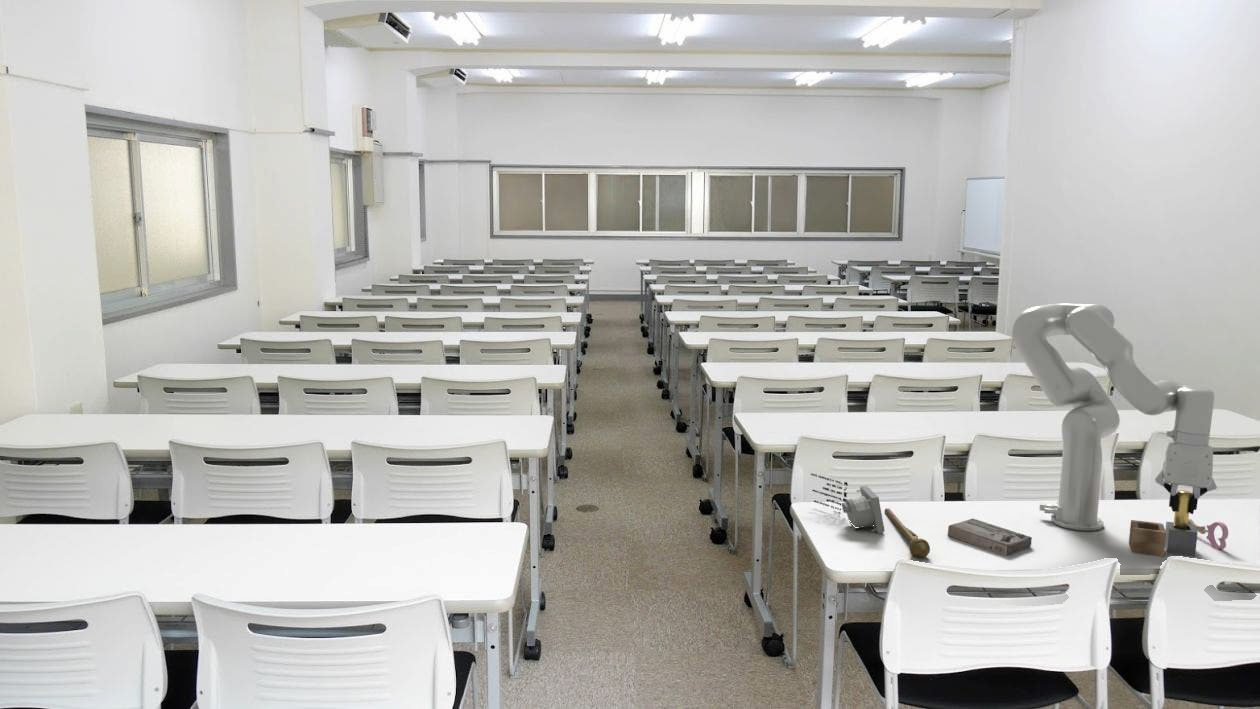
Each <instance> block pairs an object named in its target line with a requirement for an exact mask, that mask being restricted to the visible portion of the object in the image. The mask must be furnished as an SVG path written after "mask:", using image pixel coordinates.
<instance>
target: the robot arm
mask: <svg viewBox="0 0 1260 709" xmlns="http://www.w3.org/2000/svg"><path fill="white" fill-rule="evenodd" d="M1114 325H1115V317H1114V314H1113V312H1112V311H1111V310H1110V309H1109V308H1108V307H1107V306H1104V305H1102V304H1097V303H1096V304H1095V303H1094V304H1092V303H1090V304H1088V303H1087V304H1086V303H1085V304H1084V303H1083V304H1082V303H1051V304H1044V305H1038V306H1037V305H1035V306H1032V307H1030V308H1027V309H1025V310H1022V312H1021V313H1020V314H1019V315H1018V316H1016V319H1015V320H1014V323H1013V325H1012V330H1011V338H1012V344H1013V346H1014V348H1015V350H1016V352H1017V353H1018V355H1019V356H1020V358H1021V359H1022V360H1023V362H1024V363H1025V365H1026V366H1027V368H1028V369H1029V371H1030V373H1031V375H1032V376H1033V378H1034V379H1035V381H1036V382H1037V384H1038V385H1039V387H1040V388H1041V390H1042V392H1043V394H1044V395H1045V396H1046V398H1047V399H1048V401H1049V402H1050V403H1051V404H1052V405H1054V406H1056V407H1067V406H1072V407H1073V409H1071V410H1069V411H1068V412H1067V413H1066V415H1065V416H1064V417H1063V420H1062V423H1061V438H1062V457H1061V459H1062V460H1061V471H1060V480H1059V481H1060V483H1059V496H1058V500H1057V501H1056V503H1053V504H1052V505H1051V504H1047V503H1041V502H1040V503H1039V511H1041V512H1044V514H1049V515H1050V514H1051V515H1050V521H1051V522H1052V523H1054V525H1057V526H1059V527H1061V528H1065V529H1070V530H1074V531H1083V532H1089V531H1090V532H1091V531H1092V532H1093V531H1099V530H1101V529H1103V527H1104V521H1103V520H1102V519H1101V518H1099V517H1098V514H1099V504H1100V503H1099V502H1100V490H1101V482H1102V481H1101V480H1102V470H1103V468H1102V467H1103V451H1102V450H1103V449H1102V443H1101V441H1102V439H1104V438H1106V437H1109V436H1111V435H1113V434H1114V433H1115V432H1116V431H1117V430H1118V428H1119V426H1120V424H1121V423H1120V421H1121V420H1120V419H1121V418H1120V414H1119V412H1118V409H1117V408H1116V406H1115V405H1114V402H1112V400H1111V399H1110V397H1109V395H1108V394H1107V393H1106V391H1105V390H1104V388H1103V386H1102V385H1101V383H1100V382H1099V381H1098V379H1097V378H1096V377H1095V376H1094V374H1093V373H1091V372H1090V371H1088V369H1085V368H1083V367H1078V366H1073V367H1069V366H1068V365H1067V363H1066V362H1065V360H1064V359H1063V358H1062V356H1061V354H1060V353H1059V352H1058V350H1057V349H1056V348H1055V347H1054V346H1053V345H1052V344H1050V343H1049V341H1048V340H1047V338H1048V337H1053V336H1058V335H1059V336H1060V335H1062V336H1072V337H1073V338H1074V339H1075V340H1076V341H1077V342H1078V343H1079V344H1080V345H1081V346H1082V347H1083V348H1084V349H1085V350H1087V351H1088V352H1089V354H1091V356H1092V357H1094V359H1096V360H1097V361H1098V362H1099V364H1101V365H1102V366H1103V367H1104V369H1105V372H1106V374H1107V375H1108V377H1109V380H1110V382H1111V384H1112V385H1113V387H1114V388H1115V390H1116V391H1117V392H1118V393H1119V394H1120V395H1121V396H1122V397H1123V398H1124V399H1126V401H1127V402H1128V403H1130V405H1132V406H1133V407H1134V408H1135V409H1136V410H1137V411H1138V412H1140V413H1142V414H1144V415H1148V416H1158V415H1161V414H1163V413H1167V412H1174V411H1175V418H1174V419H1175V420H1174V427H1173V430H1170V431H1169V430H1168V431H1166V437H1167V438H1171V440H1169V442H1168V445H1167V447H1166V450H1165V456H1164V461H1163V464H1162V469H1161V471H1160V472H1159V473H1158V474H1157V476H1156V477H1155V478H1154V480H1155V483H1156V484H1158V485H1160V486H1161V487H1163V488H1164V489H1165V490H1166V491H1167V492H1168V493H1169V502H1168V507H1169V508H1171V510H1172V512H1173V513H1175V511H1176V510H1177V502H1178V496H1177V491H1178V488H1179V486H1184V487H1192V492H1191V493H1192V494H1191V502H1190V510H1189V514H1191V515H1194V511H1197V508H1198V500H1199V499H1201V496H1203V495H1204V494H1206V493H1208V492H1212V491H1213V490H1217V488H1218V487H1217V485H1216V482H1215V480H1214V478H1213V468H1214V452H1213V446H1212V445H1211V444H1209V443H1210V435H1211V429H1212V428H1211V427H1212V420H1213V413H1214V412H1213V411H1214V405H1215V403H1214V402H1215V393H1214V392H1213V390H1212V389H1209V388H1206V387H1203V386H1193V385H1192V386H1191V385H1186V384H1183V383H1179V382H1177V381H1174V380H1173V381H1172V380H1168V379H1167V380H1164V379H1163V380H1158V381H1155V382H1153V381H1151V380H1150V379H1149V378H1148V376H1146V375H1145V374H1144V373H1143V372H1142V371H1141V370H1140V369H1139V367H1138V366H1137V364H1136V363H1135V360H1134V357H1133V356H1134V355H1133V354H1134V346H1133V343H1132V342H1131V341H1130V340H1129V339H1127V338H1126V337H1125V336H1124V335H1123V334H1121V333H1120V331H1119V330H1117V328H1115V327H1114Z"/></svg>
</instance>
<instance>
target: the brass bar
mask: <svg viewBox="0 0 1260 709" xmlns="http://www.w3.org/2000/svg"><path fill="white" fill-rule="evenodd" d="M1192 493H1193V492H1191V491H1189V490H1184V489H1183V490H1181V489H1180V490H1179V489H1177V496H1178V502H1177V510H1176V511H1175V512H1174V515H1173V516H1174V518H1173V522H1174V525H1173V526H1174V528H1175V529H1184V530H1187V527H1188V519H1190V518H1189V517H1190V513H1189V510H1190V502H1191V494H1192Z"/></svg>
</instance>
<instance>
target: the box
mask: <svg viewBox="0 0 1260 709" xmlns="http://www.w3.org/2000/svg"><path fill="white" fill-rule="evenodd" d="M947 528H948V530H947V536H948V537H952V538H954V539H956V540H959V541H963V542H966V543H968V544H971V545H974V546H976V547H980V548H982V549H984V550H988V551H991V552H994V553H996V554H1000V555H1003V556H1005V557H1008V556H1012V555H1013V554H1015V553H1018V552H1021V551H1024V550H1025V549H1029V548H1031V547H1032V541H1033V540H1032V539H1033V538H1032V537H1031V536H1028V535H1026V534H1023V533H1020V532H1016V531H1013V530H1010V529H1007V528H1004V527H1001V526H998V525H994V524H991V523H989V522H985V521H982V520H978V519H975V518H970V519H967V520H963V521H960V522H956V523H953V524H950V525H948V527H947Z"/></svg>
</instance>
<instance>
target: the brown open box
mask: <svg viewBox="0 0 1260 709" xmlns="http://www.w3.org/2000/svg"><path fill="white" fill-rule="evenodd" d="M1129 527H1130V528H1129V537H1128V538H1129V539H1128V545H1129V549H1130V552H1131V553H1134V554H1141V555H1142V554H1143V555H1151V556H1157V557H1158V556H1159V557H1164V556H1165V551H1166V549H1165V541H1166V531H1165V529H1166V527H1165V526H1164V523H1162V522H1154V521H1153V522H1152V521H1144V520H1136V519H1130V526H1129Z"/></svg>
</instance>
